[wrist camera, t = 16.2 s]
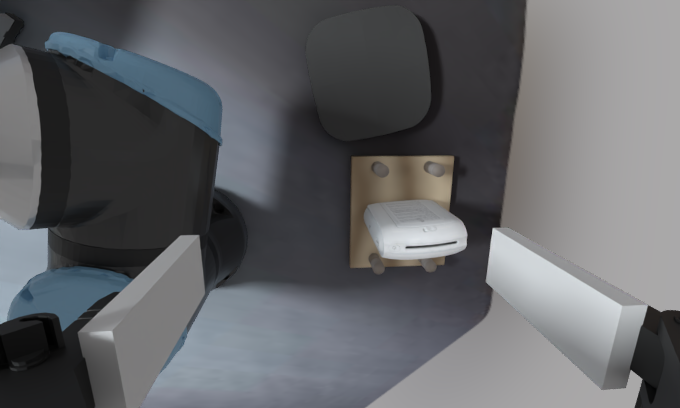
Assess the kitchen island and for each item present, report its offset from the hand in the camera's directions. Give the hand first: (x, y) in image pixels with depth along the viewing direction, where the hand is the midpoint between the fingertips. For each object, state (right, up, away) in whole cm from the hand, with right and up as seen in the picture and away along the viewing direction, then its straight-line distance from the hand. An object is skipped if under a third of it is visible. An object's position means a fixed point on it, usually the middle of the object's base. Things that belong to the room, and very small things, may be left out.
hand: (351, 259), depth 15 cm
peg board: (+8, +1, +33) cm, 34 cm away
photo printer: (+8, +1, +32) cm, 33 cm away
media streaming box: (+3, +19, +29) cm, 35 cm away
